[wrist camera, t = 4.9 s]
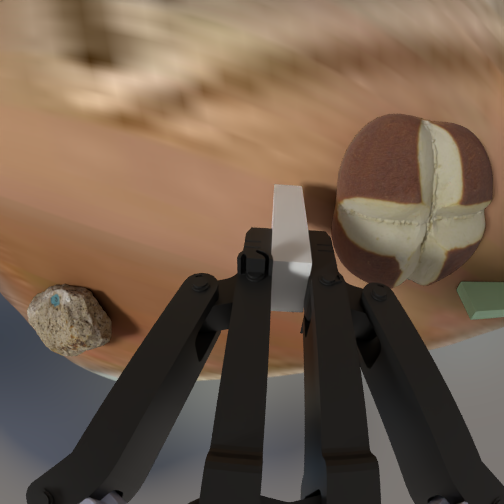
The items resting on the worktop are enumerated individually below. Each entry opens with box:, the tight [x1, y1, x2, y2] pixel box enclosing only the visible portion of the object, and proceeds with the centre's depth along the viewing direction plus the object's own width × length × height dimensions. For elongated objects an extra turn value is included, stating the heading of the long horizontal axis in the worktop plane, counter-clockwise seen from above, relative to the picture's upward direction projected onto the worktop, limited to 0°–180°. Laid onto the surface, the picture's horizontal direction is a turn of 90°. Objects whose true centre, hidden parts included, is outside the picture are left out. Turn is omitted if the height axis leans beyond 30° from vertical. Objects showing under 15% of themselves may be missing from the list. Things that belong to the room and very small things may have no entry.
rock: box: [27, 284, 112, 356], centre depth 27 cm, size 8×11×4 cm
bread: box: [332, 114, 493, 288], centre depth 16 cm, size 11×11×5 cm
